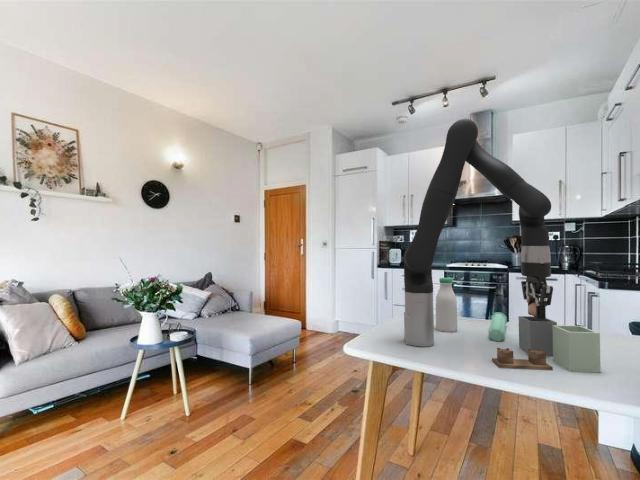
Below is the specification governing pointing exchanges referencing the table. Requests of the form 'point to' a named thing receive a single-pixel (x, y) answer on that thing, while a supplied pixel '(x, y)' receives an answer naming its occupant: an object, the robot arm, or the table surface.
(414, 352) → the table surface
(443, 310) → the milk bottle
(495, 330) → the container
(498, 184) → the robot arm
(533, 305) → the terracotta ball
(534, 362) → the rack
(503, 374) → the table surface
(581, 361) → the pair of storage bins
